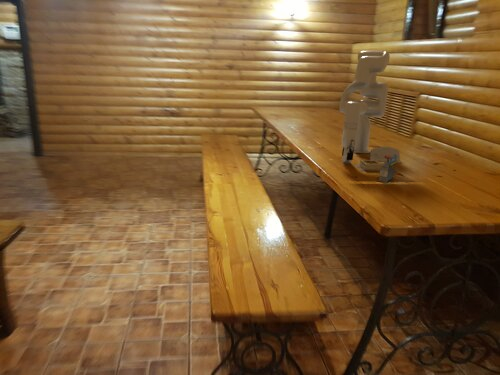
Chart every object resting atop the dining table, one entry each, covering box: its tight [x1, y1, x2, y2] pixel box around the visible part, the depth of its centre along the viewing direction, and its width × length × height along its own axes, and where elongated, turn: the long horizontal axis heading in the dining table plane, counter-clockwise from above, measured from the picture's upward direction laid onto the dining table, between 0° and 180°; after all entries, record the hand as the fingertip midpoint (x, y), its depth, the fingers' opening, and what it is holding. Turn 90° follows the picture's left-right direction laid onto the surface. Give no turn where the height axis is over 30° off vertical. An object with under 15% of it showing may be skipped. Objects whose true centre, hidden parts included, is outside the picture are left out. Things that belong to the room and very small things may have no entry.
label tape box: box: [378, 155, 397, 184], centre depth 180 cm, size 9×4×12 cm, turn 141°
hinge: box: [369, 146, 401, 163], centre depth 214 cm, size 17×5×10 cm, turn 86°
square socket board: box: [359, 155, 393, 171], centre depth 196 cm, size 8×16×7 cm, turn 93°
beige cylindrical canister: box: [342, 146, 352, 165], centre depth 206 cm, size 4×4×11 cm
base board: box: [353, 163, 397, 173], centre depth 198 cm, size 14×18×1 cm
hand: (347, 157), depth 206 cm, fingers open, 8 cm apart
